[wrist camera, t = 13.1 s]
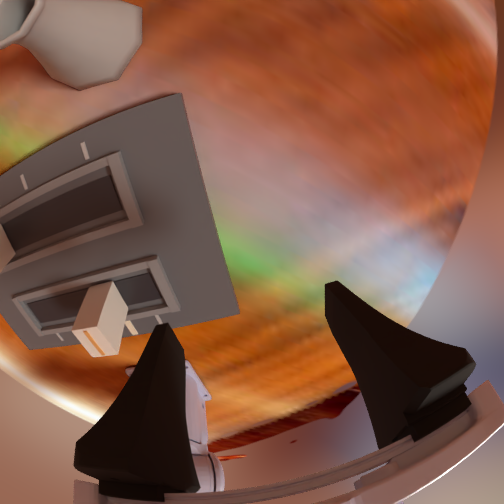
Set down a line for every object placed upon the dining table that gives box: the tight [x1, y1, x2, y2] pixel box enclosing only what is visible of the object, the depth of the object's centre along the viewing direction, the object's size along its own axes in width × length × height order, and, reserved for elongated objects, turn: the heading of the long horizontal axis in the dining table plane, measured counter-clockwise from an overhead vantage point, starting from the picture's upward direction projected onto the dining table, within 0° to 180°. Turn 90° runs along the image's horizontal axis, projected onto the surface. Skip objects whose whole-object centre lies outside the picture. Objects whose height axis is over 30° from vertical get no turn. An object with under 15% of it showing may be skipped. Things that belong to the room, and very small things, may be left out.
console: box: [0, 93, 240, 350], centre depth 18 cm, size 18×26×2 cm
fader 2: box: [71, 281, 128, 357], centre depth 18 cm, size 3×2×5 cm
